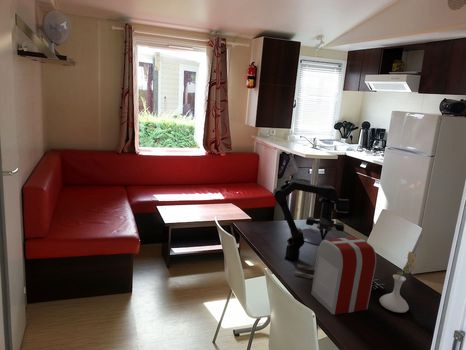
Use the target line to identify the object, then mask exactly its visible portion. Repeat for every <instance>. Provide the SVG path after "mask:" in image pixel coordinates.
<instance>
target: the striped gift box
mask: <svg viewBox="0 0 466 350" xmlns="http://www.w3.org/2000/svg"><path fill="white" fill-rule="evenodd" d="M376 266H377V253H376V250H375V248H374V246H372V245H371V244H370V243H368V242H367V241H366V240H364V239H361V238H359V237H347V238H345V237H340V238H336V239H330V240H323V241H322V242H321V244H320V245H319V246H318V249H317V255H316V261H315V267H314V268H315V271H313V276H314V279H312V286H311V292H310V294H311V296H313V297H314V298H315V299H316V300H317V301H318V302H319V303H320V304H321V305H322V306H323V307H324V308H325V309H326V310H327V311H328V312H329V313H330V314H331V315H341V314H346V313H347V314H349V313H354V312H359V311H366V310H368V308H369V302H370V298H371V291H372V287H373V281H374V276H375V271H376Z"/></svg>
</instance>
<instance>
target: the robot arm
mask: <svg viewBox="0 0 466 350" xmlns="http://www.w3.org/2000/svg"><path fill="white" fill-rule="evenodd" d="M294 191H300V192H304V193H305V192H306V193H309V194H316V195H318V196H321V197H320V198H318V201H319V202H320V203H322V205H321V211H320V217H319V220H318V219H316V217H314V216H313V217H312V216H307V218H306V221H305V225H306V226H311V227H312V226H314V225H316V229H318V231H320V233H321V238H322V240H324V238H325V236H326V234H327V233H328V234H329V232H331V231H332V230H333V228H335V230H336V231H337V232H344V230H345V223H344V222H339V221H336V223H335V220H333V215H334V210H335V212H336V213H344V214H348V213H350V211H351V208H350V205H351V204H350V199H349V198H345V199H343V198H339V197H338V196H337V195H338V192H337V190H336V189H335V188H334V187H333V186H332V185H327V184H325V185H315V184H311V183H306V182H302V181H301V182H300V181H296V180H290V181H289V182H287V183H285V184H283V185H281V186H278V187H275V188H274V189H273V192H272V193H273V197H274V199H275V201H276V203H277V204H278V205H279V207H280V208H281V211H282V214H283V216H284V218H285V221H286V223H287V225H288V229H289V231H290V236H291V237H289V238H288V239H286V242H287V245H286V247H285V256H284V260H288V261H291V262H296V263H297V262H298V260H299V259H300V254H301V250H300V249H301V247H303V246H304V245H305V243H306V242H304V240H305V237H304V235H303V233H302V230H301V229H302V228H301V227H300V229H298V228H299V227H297V225H296V222H295V220H294V218H293V214H292V213H291V209H290V207H289V205H288V199H287V197H288V196H290V194H292V193H293V192H294ZM323 232H324V235H323Z"/></svg>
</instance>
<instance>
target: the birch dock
mask: <svg viewBox="0 0 466 350" xmlns="http://www.w3.org/2000/svg"><path fill="white" fill-rule="evenodd" d="M296 268H297V269H298V268H300V269H302V270H307V271H313V272H315V267H313V266H309V265H304V264H301V263H300V264H299V263H297V264H296ZM293 276H297V277H302V278H305V279H310V280H313V279H314V274H309V273H304V272H301V271H300V272H299V271H294V274H293Z"/></svg>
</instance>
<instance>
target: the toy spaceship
mask: <svg viewBox="0 0 466 350" xmlns="http://www.w3.org/2000/svg"><path fill="white" fill-rule="evenodd" d="M297 228H298V229H300V228H301V227H300V228H299V227H297ZM301 230H302V233H303V235H304V237H305V240H304V242H305V243H306V244H309V245H311V246H315V247H319V245H320V244H321V242H322V241H323V240H322V238H321V233H320V230H317V229H314V228H312V227H309V226H308V228H301ZM324 232H325V231H323V235H324ZM330 239H337V237H335V236H334V235H332V234H330V233H329V232H328V233H327V234H326V236H325V238H324V240H330Z"/></svg>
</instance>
